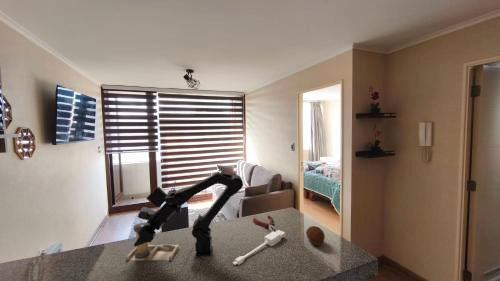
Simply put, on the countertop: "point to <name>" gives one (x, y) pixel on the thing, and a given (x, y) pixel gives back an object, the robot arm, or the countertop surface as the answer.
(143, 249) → the bobbin
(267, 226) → the pliers
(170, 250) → the divided tray
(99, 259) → the countertop surface
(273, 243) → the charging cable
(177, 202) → the robot arm
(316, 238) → the potato
